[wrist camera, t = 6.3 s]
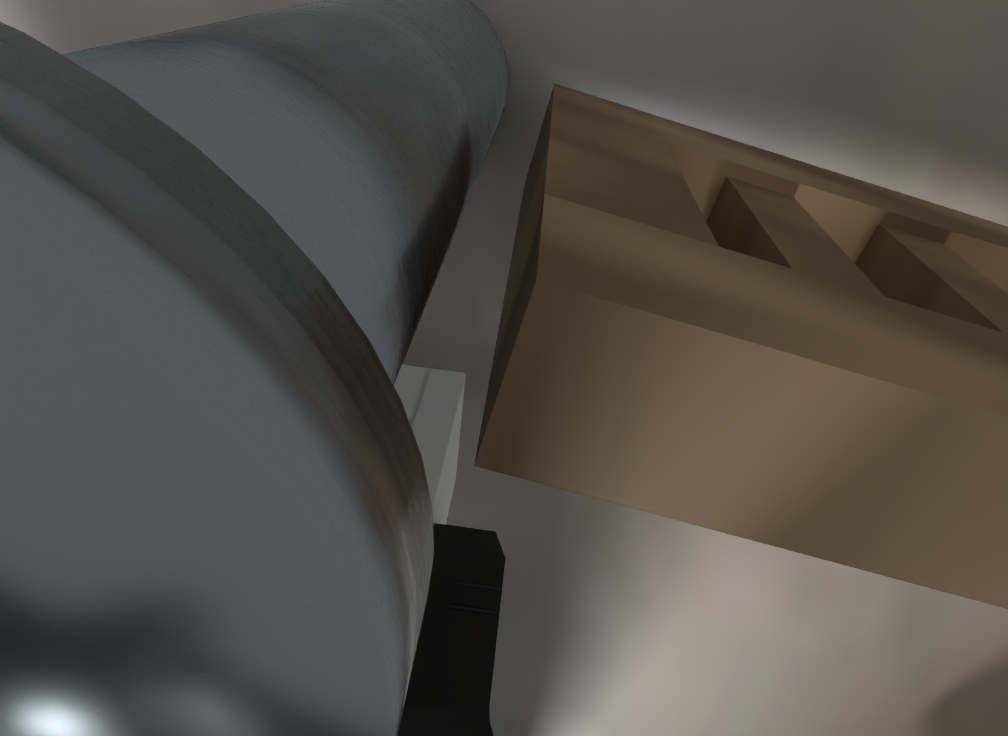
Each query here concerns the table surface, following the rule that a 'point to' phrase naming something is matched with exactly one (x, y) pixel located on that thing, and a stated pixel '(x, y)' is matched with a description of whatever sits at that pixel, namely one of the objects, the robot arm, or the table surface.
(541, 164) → the gate
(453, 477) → the robot arm
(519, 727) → the table surface
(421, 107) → the gate posts
